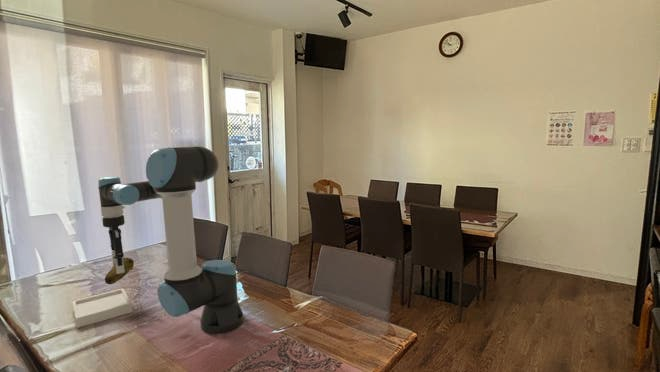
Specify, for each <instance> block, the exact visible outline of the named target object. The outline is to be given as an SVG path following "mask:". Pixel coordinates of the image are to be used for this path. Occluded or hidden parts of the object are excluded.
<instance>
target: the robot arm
mask: <svg viewBox="0 0 660 372" xmlns="http://www.w3.org/2000/svg"><path fill="white" fill-rule="evenodd" d="M218 169H219V160H218V157H217V156H216V154H215V153H214V152H213V151H212V150H211V149H209V148H206V147H205V146H185V147H184V146H183V147H182V146H181V147H179V146H178V147H177V146H176V147H171V146H169V147H165V148H164V147H162V148H157V149H154V150H153V151H152V152H151V153H150V155H149V156H148V158H147V161H146V164H145V174H146V175H145V176H146V179H147V181H138V182H137V181H136V182H129V183H122V181H121V178H120V177H119V176H106V177H101V178H99V179H98V181H97V183H98V185H97V186H98V187H97V189H98V193H99V200H100V201H99V202H100V213H101V217H102V219H101V220H102V226H103V228H104V227H105V228H108V235H109V240H110V248H111V256H112V258H111V259H112V267H113V266H114V265H115V264H116V272H117V274H119V273H124V272H125V271H124V261H123V258H124V257H125V256H124V255H125V254H124V250H123V243H122V229H121V228H119V227H121V226H123V225H125V215H124V209H126V208H125V207H126V206H131V205H134V204H135V203H138V202H144V201H149V200H150V201H151V200H154V199H155V200H156V199H161V201H162V210H163V212H162V213H163V220H164V223H163V224H164V233H165V244H166V253H167V254H166V255H167V267H168V270H167V271H166V272H165V273H164V275H163V278H164V279H163V280H164V282H162V283H161V284H160V285H159V286H158V288H157V298H158V301H159V303H160V306H161V307H162V309H163V310H164V311H165V312H166V313H167V314H168V315H169V316H171V317H174V318H178V317H182V316H183V315H188V314H189V313H191V312H193V311H195V310H197V309H199V308H201V307H203V310H202V313H201V317H200V329H201V330H202V331H203V332H205V333H208V334H224V333H228V332H230V331H231V332H232V331H234V330H236V329H237V328H238V327H240V326H241V325H242V324H243V323H244V311H243V310H242V307H241V305H240V302H239V300H238V287H237V285H238V284H237V271H236V270H237V268H236V265H235V263H233V262H232V261H230V260H226V259H225V260H224V259H214V260H213V259H212V260H207V261H204V262H202V264H201V266H199V265H198V264H197V263H198V261H197V249H196V237H195V224H194V223H195V222H194V212H193V211H194V210H193V198H192V197H193V196H192V195H193V193H194V192H196V189H197V187H196V186H197V185H196V183H202V182H205V181H207V180H211V179H212V178H213V177H214V176H215V175H216V174H217V172H218Z"/></svg>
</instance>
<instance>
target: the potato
mask: <svg viewBox="0 0 660 372" xmlns="http://www.w3.org/2000/svg"><path fill="white" fill-rule="evenodd" d="M123 261H124V271H125V272H124V273H119V274H117V272H116V264H115V265H114V266H113V265H112V268H111V269H110V270H109V271H108V272H107V274H106V275H105V277H104V281H105V284H107V285H113V284H115V283H116V282H118V281H120V280H121V279H123V278H124V277H125V276H126V275H127V274H128V273H130V271H131V270H133V268H134V266H135V263H134V262H135V261H134V260H133V259H132V258H131V257H123Z"/></svg>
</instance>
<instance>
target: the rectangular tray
mask: <svg viewBox="0 0 660 372" xmlns="http://www.w3.org/2000/svg"><path fill="white" fill-rule="evenodd" d="M71 302H72V309H73V315H74V319H75V325H76V328H77V329H78V328H82V327H86V326H89V325H92V324H96V323H99V322H102V321H106V320H111V319H113V318H117V317H119V316H120V317H121V316H123V315H127V314H130V313H133V304H132V301H131V300H130V298H129V296H128V294H127V292H126V290H125V289H124V288H123V287H122V288H119V289H115V290H111V291H107V292H102V293H99V294H95V295H91V296H90V295H89V296H86V297H83V298H79V299H74V300H72V301H71Z"/></svg>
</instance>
